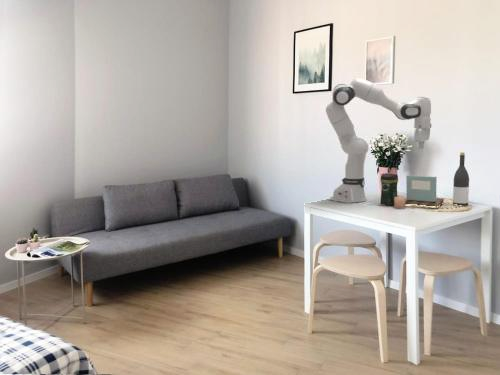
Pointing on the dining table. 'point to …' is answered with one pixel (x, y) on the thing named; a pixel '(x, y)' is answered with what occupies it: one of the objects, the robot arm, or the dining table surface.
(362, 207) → the dining table surface
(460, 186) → the wine bottle
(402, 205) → the peach round lump
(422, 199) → the teal display board
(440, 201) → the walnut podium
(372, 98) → the robot arm
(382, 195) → the coffee jar
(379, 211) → the dining table surface
